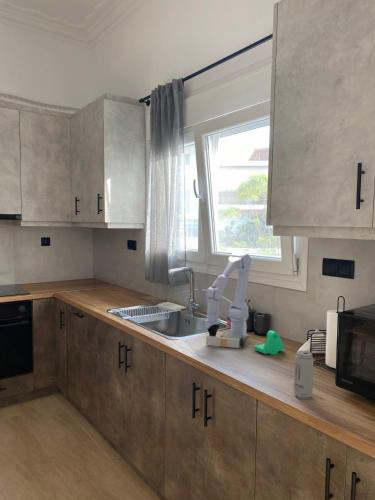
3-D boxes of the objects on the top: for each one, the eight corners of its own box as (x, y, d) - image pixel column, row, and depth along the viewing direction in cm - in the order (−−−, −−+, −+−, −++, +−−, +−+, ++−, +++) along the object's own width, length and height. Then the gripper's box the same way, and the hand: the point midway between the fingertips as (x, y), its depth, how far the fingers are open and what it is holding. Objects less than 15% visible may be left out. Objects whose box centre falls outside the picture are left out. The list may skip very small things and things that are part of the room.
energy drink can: (290, 393, 134) (291, 351, 133) (305, 391, 136) (306, 349, 135) (300, 401, 128) (302, 356, 127) (315, 398, 130) (317, 355, 129)
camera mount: (272, 347, 186) (273, 326, 185) (283, 352, 179) (284, 330, 179) (253, 351, 180) (254, 329, 179) (264, 356, 173) (265, 333, 172)
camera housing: (225, 341, 194) (225, 332, 194) (246, 344, 189) (246, 335, 189) (219, 344, 188) (219, 335, 188) (241, 348, 183) (241, 339, 182)
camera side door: (206, 343, 188) (206, 335, 188) (239, 347, 183) (240, 339, 183) (205, 344, 187) (206, 336, 187) (239, 348, 182) (239, 339, 182)
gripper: (211, 308, 195) (211, 334, 196) (199, 314, 183) (198, 342, 183) (224, 310, 192) (223, 337, 193) (212, 315, 179) (212, 344, 180)
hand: (212, 339), depth 188 cm, fingers closed
